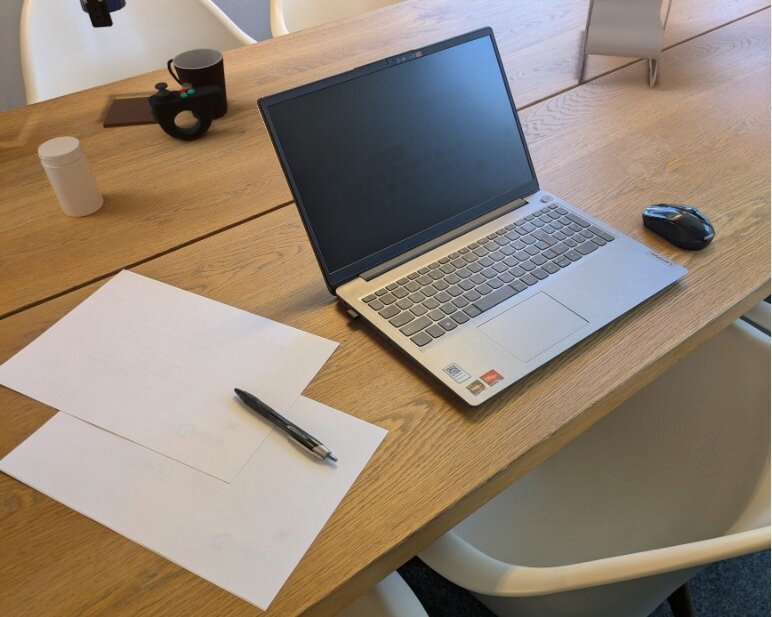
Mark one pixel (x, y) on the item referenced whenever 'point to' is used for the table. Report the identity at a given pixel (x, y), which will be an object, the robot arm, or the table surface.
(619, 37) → the chair
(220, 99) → the controller
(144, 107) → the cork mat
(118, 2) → the jar lid
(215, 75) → the coffee mug
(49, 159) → the jar
